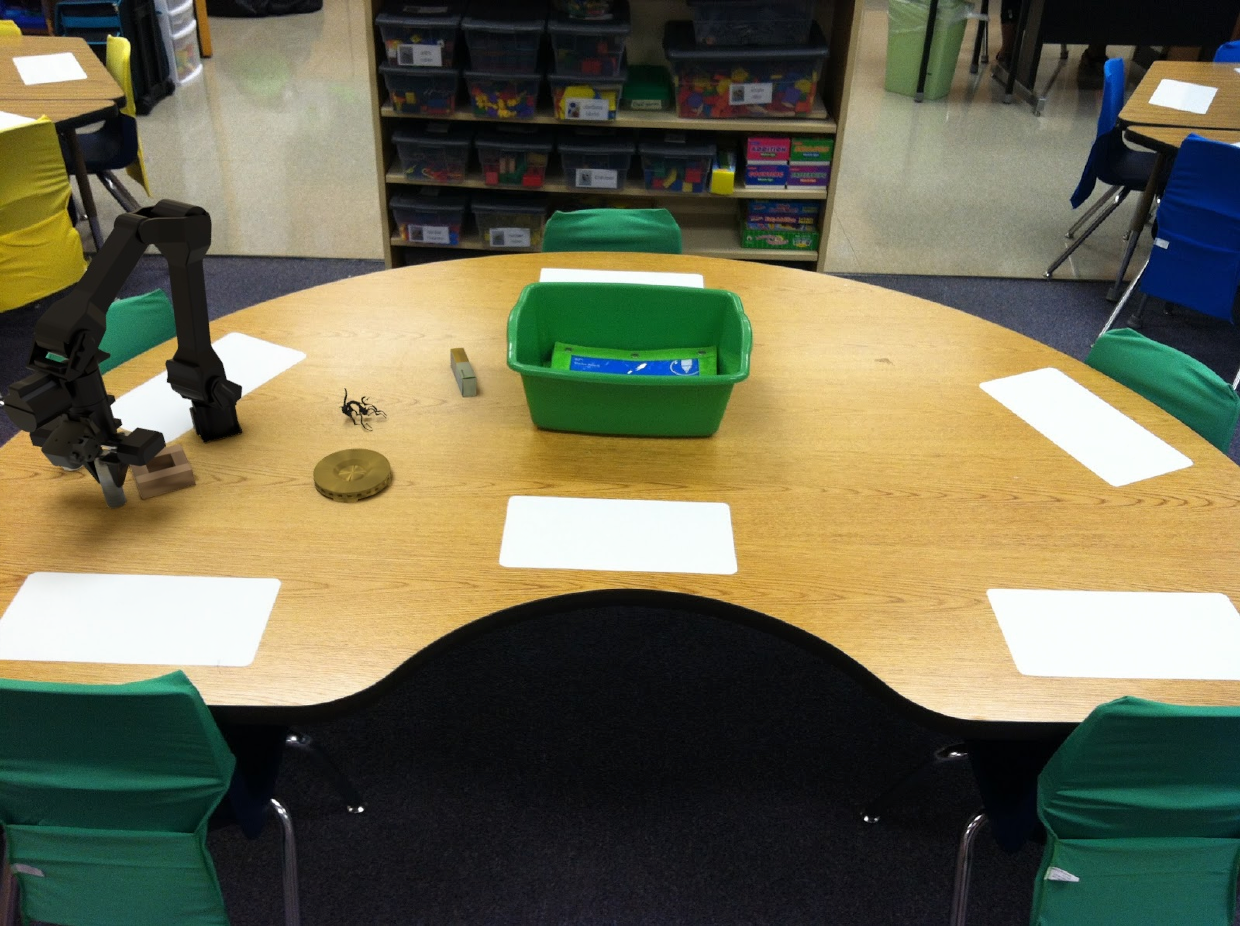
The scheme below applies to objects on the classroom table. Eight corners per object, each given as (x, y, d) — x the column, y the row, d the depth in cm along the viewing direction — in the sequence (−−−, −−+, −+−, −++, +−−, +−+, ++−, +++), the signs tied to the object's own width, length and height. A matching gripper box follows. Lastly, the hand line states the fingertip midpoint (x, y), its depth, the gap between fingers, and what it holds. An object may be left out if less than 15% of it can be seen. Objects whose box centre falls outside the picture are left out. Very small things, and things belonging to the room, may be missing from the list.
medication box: (477, 396, 189) (477, 377, 187) (462, 398, 188) (462, 379, 186) (463, 364, 198) (463, 346, 196) (449, 366, 197) (449, 347, 195)
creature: (387, 412, 185) (342, 404, 183) (391, 387, 182) (345, 379, 180) (382, 437, 179) (335, 429, 177) (387, 412, 176) (339, 403, 174)
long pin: (124, 494, 161) (110, 447, 156) (128, 504, 159) (114, 456, 154) (105, 500, 160) (90, 452, 154) (108, 510, 158) (93, 461, 152)
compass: (299, 480, 166) (298, 469, 165) (362, 450, 174) (360, 440, 172) (343, 513, 160) (342, 502, 159) (406, 481, 167) (405, 470, 166)
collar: (184, 458, 169) (180, 443, 167) (196, 484, 164) (192, 469, 162) (132, 472, 166) (127, 456, 164) (142, 499, 160) (137, 483, 158)
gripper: (-13, 415, 143) (20, 504, 152) (107, 438, 140) (133, 528, 149) (42, 375, 152) (70, 462, 161) (156, 396, 149) (178, 483, 158)
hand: (111, 484), depth 157 cm, fingers closed on long pin, 3 cm apart
